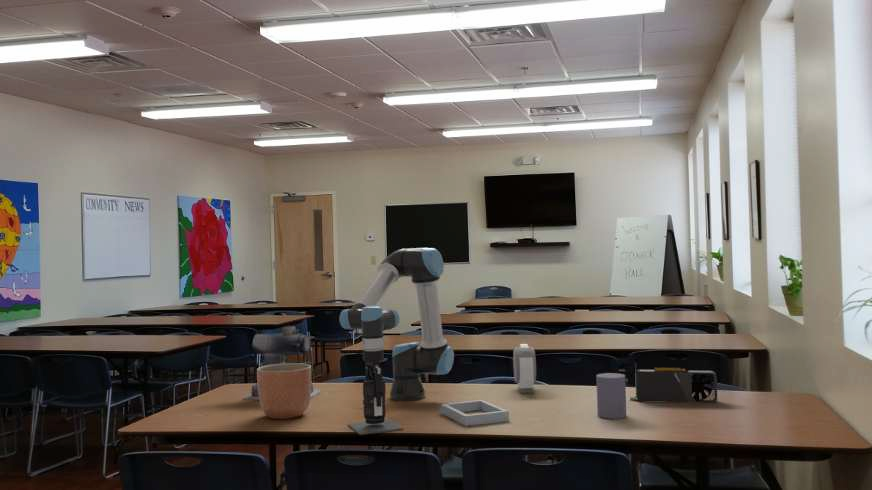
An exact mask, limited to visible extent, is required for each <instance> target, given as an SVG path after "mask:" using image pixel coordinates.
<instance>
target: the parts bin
mask: <svg viewBox="0 0 872 490" xmlns="http://www.w3.org/2000/svg"><path fill="white" fill-rule="evenodd" d="M440 406H441V407H440V408H441V414H442V415H443V416H446V417H448V418H450V419H451V420H454V421H455V422H457V423H459V424H461V425H462V426H464V425H465V427H469V426H468V425H471V426H476V425H477V426H478V424H479V425H486V424H494V422H495V423H503V422H509V421H510V411H509V410H507V409H504V408H502V407H500V406H498V405H495V404H493V403H491V402H488V401H485V400H483V399H478V400H477V399H476V400H469V401H459V402H458V401H457V402H451V403H441V405H440ZM475 410H476V411H482V413H480V412H479V413H473V414H466V412H465V411H467V412H475Z"/></svg>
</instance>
